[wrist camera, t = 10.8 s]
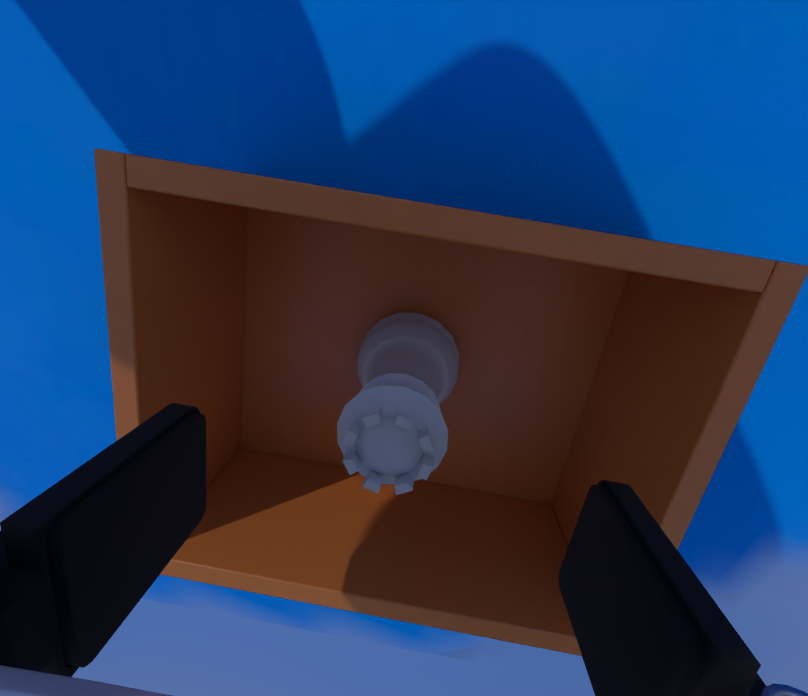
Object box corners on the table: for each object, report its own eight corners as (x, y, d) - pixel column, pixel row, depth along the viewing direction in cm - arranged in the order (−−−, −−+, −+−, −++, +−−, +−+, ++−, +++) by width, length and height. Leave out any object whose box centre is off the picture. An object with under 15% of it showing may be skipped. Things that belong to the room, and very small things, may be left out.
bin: (230, 451, 21) (125, 568, 14) (237, 177, 17) (92, 147, 10) (559, 511, 21) (624, 665, 14) (650, 246, 17) (812, 266, 9)
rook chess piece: (421, 419, 19) (408, 550, 12) (343, 366, 19) (276, 467, 11) (479, 347, 18) (507, 442, 10) (397, 289, 17) (363, 343, 10)
